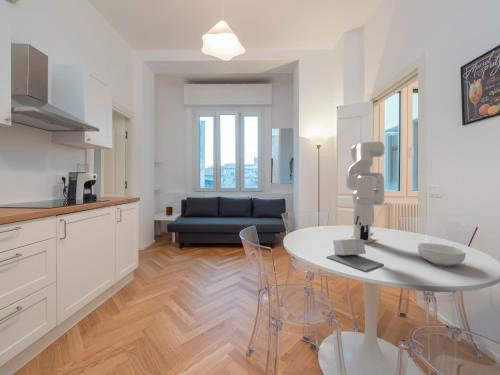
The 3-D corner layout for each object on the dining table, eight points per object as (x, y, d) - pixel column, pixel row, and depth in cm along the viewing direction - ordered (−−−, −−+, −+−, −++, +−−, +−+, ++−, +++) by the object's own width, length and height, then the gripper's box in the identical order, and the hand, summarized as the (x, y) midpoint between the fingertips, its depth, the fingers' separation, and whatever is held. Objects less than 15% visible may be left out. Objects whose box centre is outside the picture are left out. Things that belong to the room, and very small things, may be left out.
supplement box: (353, 238, 120) (332, 239, 117) (364, 238, 114) (342, 239, 110) (355, 253, 119) (334, 254, 115) (366, 254, 112) (344, 255, 108)
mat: (344, 252, 120) (344, 251, 120) (383, 265, 103) (383, 263, 103) (326, 257, 113) (326, 256, 113) (365, 271, 96) (365, 270, 96)
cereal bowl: (475, 271, 96) (476, 255, 96) (430, 268, 100) (430, 252, 99) (449, 257, 113) (449, 243, 113) (411, 255, 116) (411, 241, 116)
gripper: (366, 200, 118) (365, 235, 119) (348, 201, 110) (347, 239, 111) (381, 201, 112) (380, 239, 112) (362, 203, 104) (362, 243, 105)
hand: (364, 239), depth 112 cm, fingers closed
